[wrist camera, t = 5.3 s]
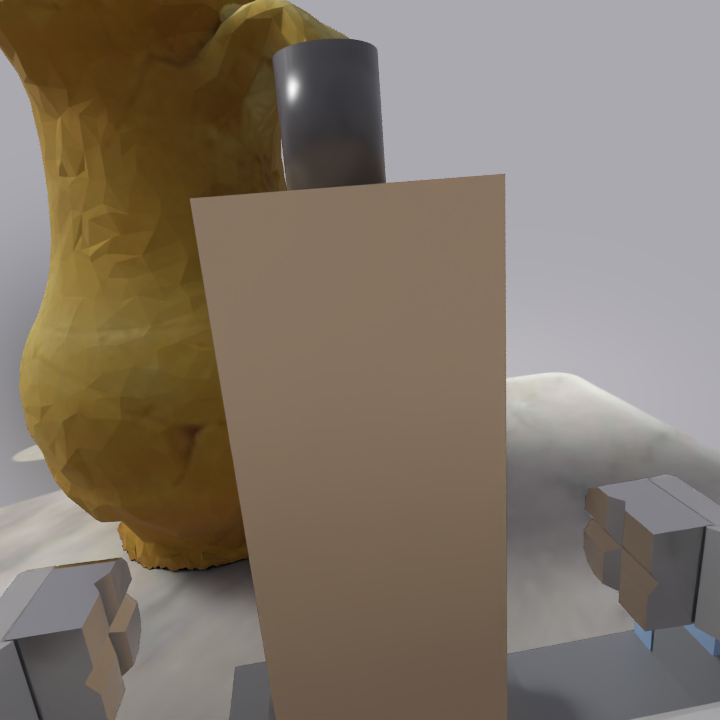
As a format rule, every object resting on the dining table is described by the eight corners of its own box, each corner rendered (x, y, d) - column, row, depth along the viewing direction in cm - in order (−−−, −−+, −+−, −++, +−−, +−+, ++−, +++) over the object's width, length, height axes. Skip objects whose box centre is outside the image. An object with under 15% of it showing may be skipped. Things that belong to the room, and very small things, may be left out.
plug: (318, 977, 10) (158, 9, 6) (309, 772, 14) (210, 96, 9) (508, 929, 11) (505, -5, 6) (449, 742, 14) (420, 84, 10)
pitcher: (312, 414, 41) (267, 68, 33) (445, 546, 25) (423, -59, 17) (79, 479, 35) (-49, 67, 27) (61, 714, 19) (-278, -145, 10)
